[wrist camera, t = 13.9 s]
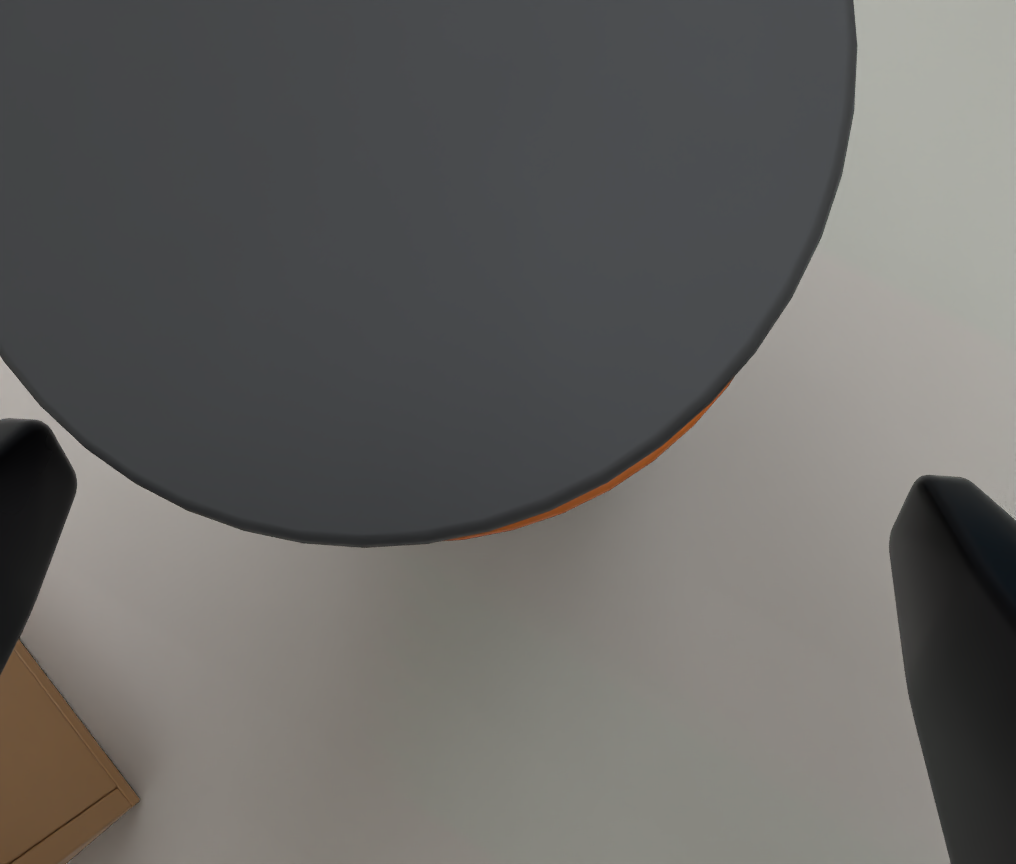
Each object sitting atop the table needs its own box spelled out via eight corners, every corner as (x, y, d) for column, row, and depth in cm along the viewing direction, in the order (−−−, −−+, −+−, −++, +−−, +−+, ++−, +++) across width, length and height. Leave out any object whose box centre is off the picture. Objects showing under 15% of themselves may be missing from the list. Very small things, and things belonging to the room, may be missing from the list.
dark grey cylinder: (574, 533, 16) (548, 766, 4) (355, 406, 16) (-266, 264, 4) (703, 307, 16) (1087, -171, 4) (478, 186, 16) (191, -572, 4)
